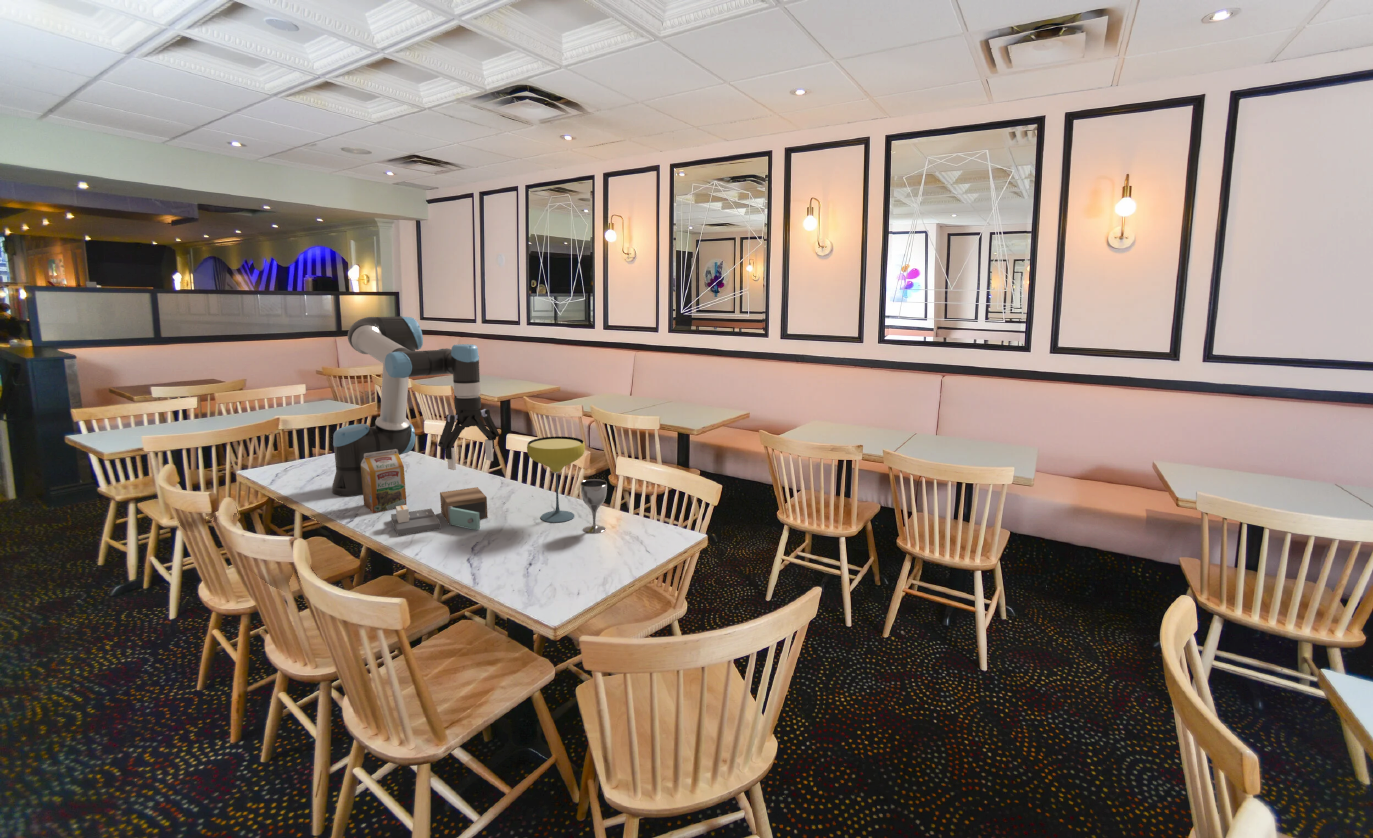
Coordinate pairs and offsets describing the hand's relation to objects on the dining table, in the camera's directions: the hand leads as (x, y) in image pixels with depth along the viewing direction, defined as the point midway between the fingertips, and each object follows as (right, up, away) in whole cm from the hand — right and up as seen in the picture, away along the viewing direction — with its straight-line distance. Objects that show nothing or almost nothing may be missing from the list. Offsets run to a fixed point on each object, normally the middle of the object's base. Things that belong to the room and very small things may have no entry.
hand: (471, 464), depth 192 cm
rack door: (-3, -20, +1) cm, 20 cm away
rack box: (-6, -17, +12) cm, 22 cm away
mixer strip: (-18, -19, +3) cm, 27 cm away
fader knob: (-21, -17, +1) cm, 28 cm away
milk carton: (-36, -16, +20) cm, 44 cm away
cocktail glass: (+24, -18, +12) cm, 33 cm away
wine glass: (+38, -20, +2) cm, 43 cm away
